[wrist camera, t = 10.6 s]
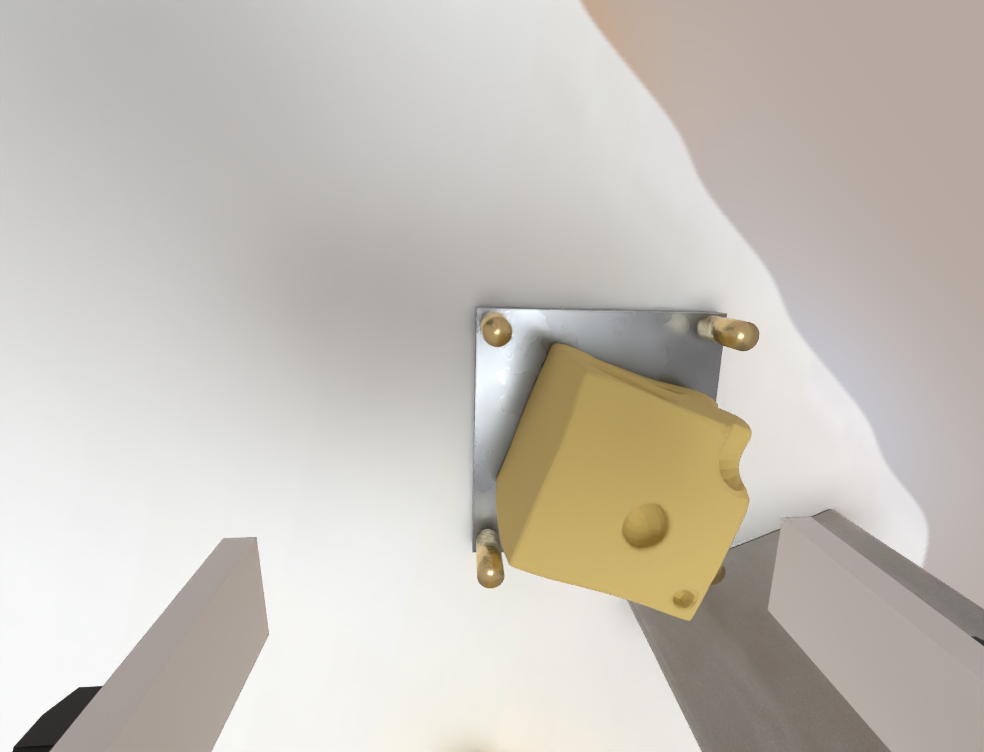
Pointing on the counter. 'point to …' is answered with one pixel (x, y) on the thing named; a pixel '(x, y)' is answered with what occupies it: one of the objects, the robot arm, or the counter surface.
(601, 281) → the counter surface
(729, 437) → the cheese
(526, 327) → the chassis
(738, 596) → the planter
